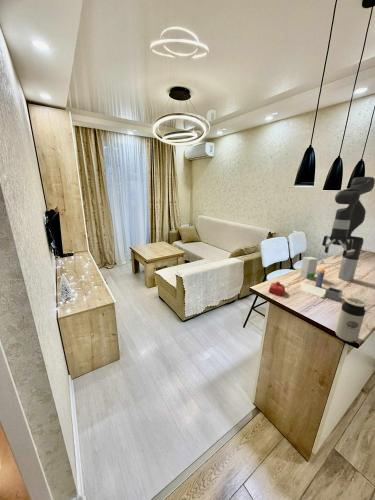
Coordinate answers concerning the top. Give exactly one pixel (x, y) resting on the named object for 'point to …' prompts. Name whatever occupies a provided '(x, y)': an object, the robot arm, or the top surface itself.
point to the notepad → (313, 290)
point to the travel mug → (350, 319)
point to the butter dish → (277, 289)
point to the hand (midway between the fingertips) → (334, 254)
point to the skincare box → (308, 267)
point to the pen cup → (333, 293)
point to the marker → (320, 278)
